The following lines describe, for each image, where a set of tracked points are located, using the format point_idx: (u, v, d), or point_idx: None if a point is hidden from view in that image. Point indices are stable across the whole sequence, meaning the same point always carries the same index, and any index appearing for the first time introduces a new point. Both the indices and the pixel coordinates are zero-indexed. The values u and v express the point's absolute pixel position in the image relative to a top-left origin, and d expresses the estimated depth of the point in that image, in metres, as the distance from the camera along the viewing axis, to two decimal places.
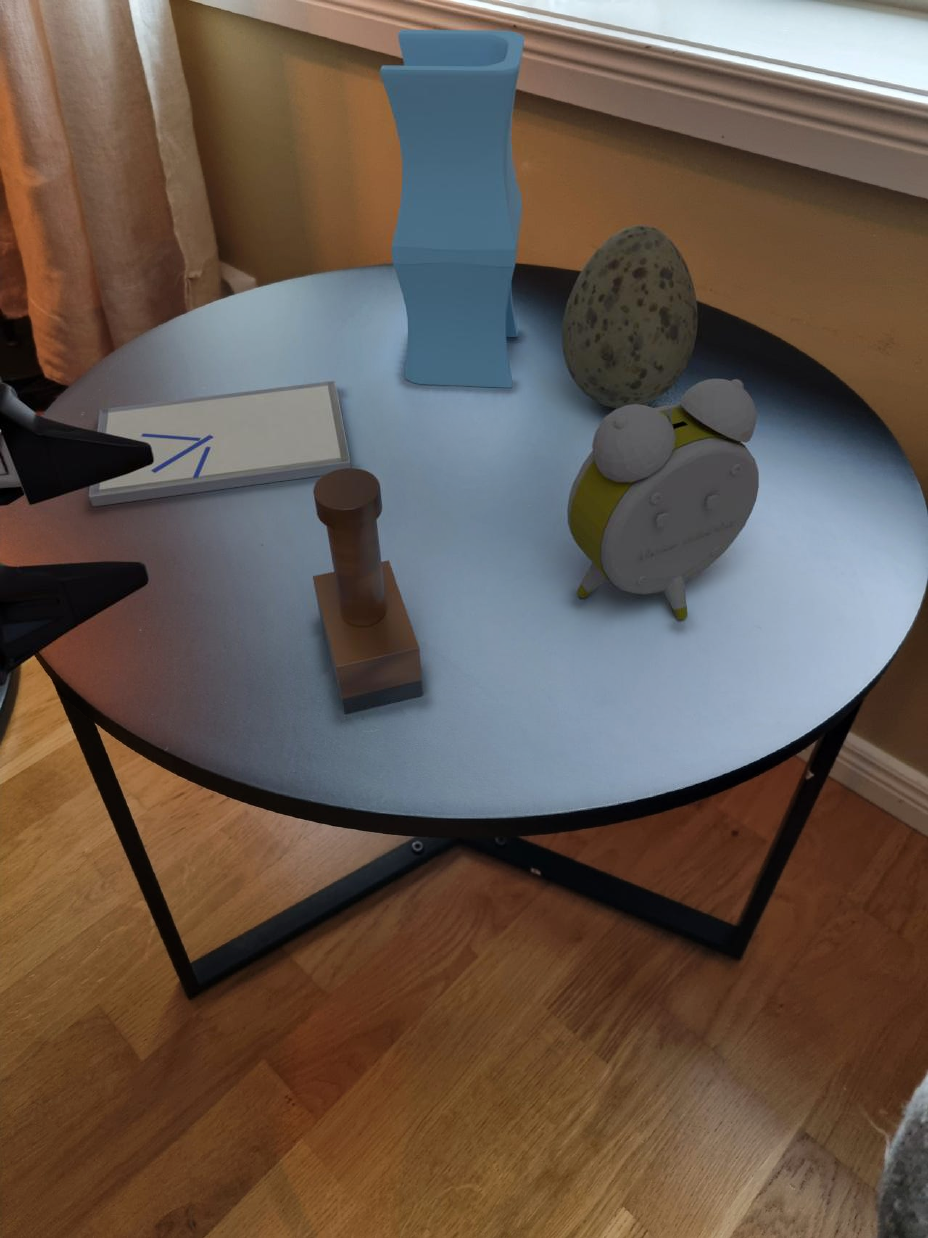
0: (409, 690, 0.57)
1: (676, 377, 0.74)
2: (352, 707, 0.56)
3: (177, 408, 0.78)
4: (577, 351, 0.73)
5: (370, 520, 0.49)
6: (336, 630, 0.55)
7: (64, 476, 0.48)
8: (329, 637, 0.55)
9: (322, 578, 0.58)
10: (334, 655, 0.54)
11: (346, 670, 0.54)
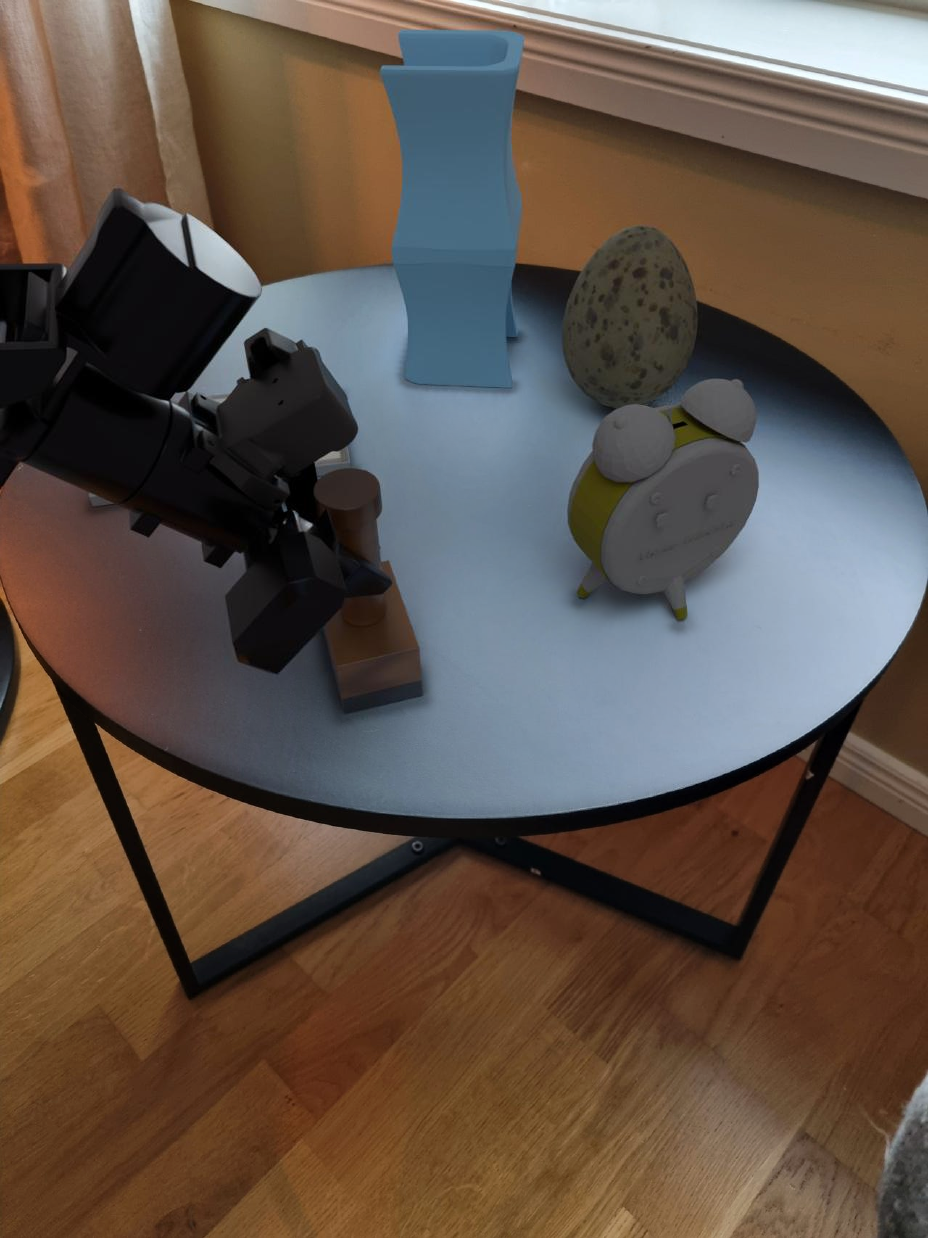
0: (409, 690, 0.57)
1: (676, 377, 0.74)
2: (352, 707, 0.56)
3: None
4: (577, 351, 0.73)
5: (370, 520, 0.49)
6: (336, 630, 0.55)
7: None
8: (329, 637, 0.55)
9: None
10: (334, 655, 0.54)
11: (345, 670, 0.54)
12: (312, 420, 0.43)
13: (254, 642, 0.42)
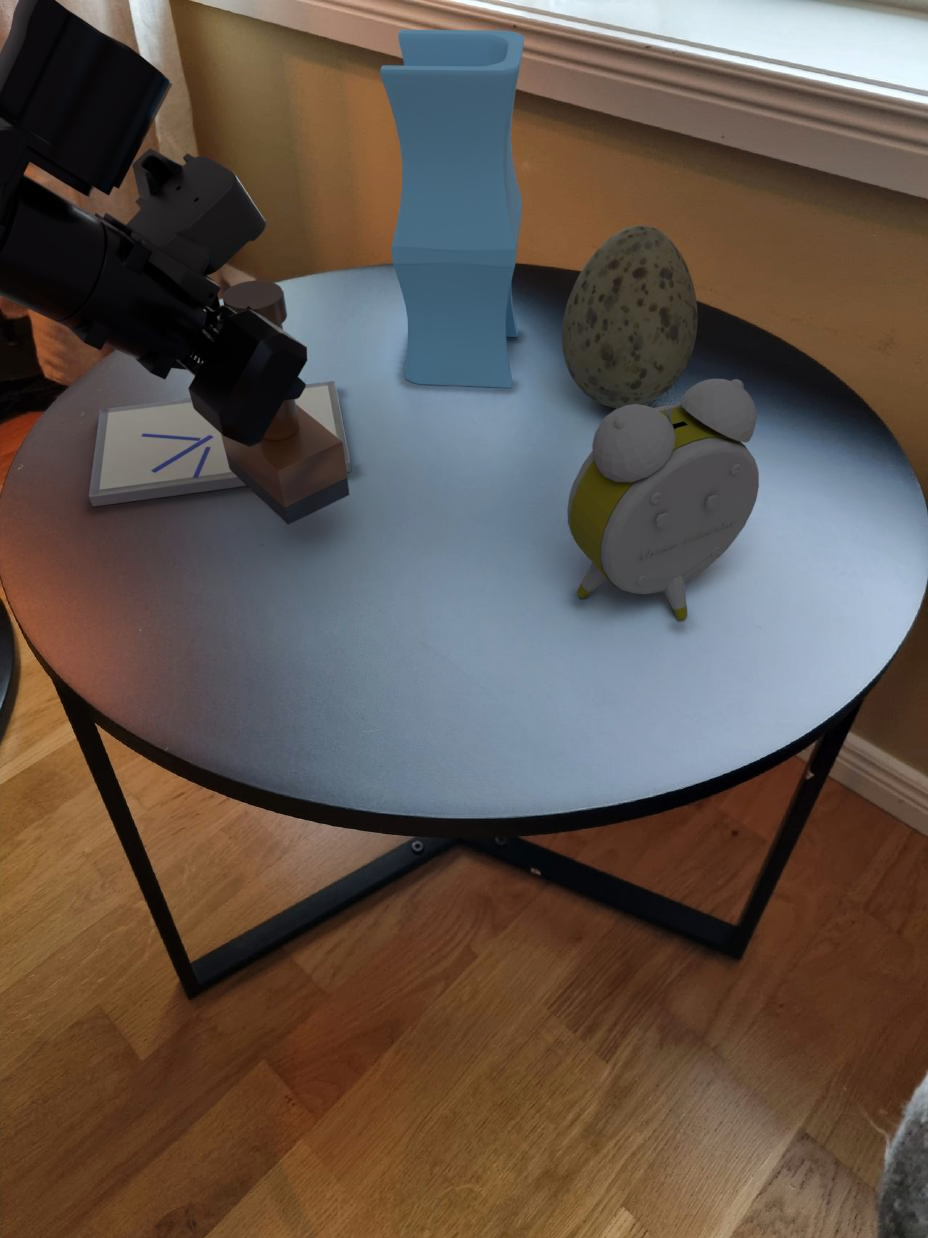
0: (338, 490, 0.63)
1: (676, 377, 0.74)
2: (294, 515, 0.61)
3: (177, 408, 0.78)
4: (577, 351, 0.73)
5: (282, 318, 0.55)
6: (262, 447, 0.60)
7: None
8: (258, 453, 0.60)
9: None
10: (271, 464, 0.59)
11: (285, 473, 0.59)
12: (231, 208, 0.48)
13: (239, 407, 0.47)
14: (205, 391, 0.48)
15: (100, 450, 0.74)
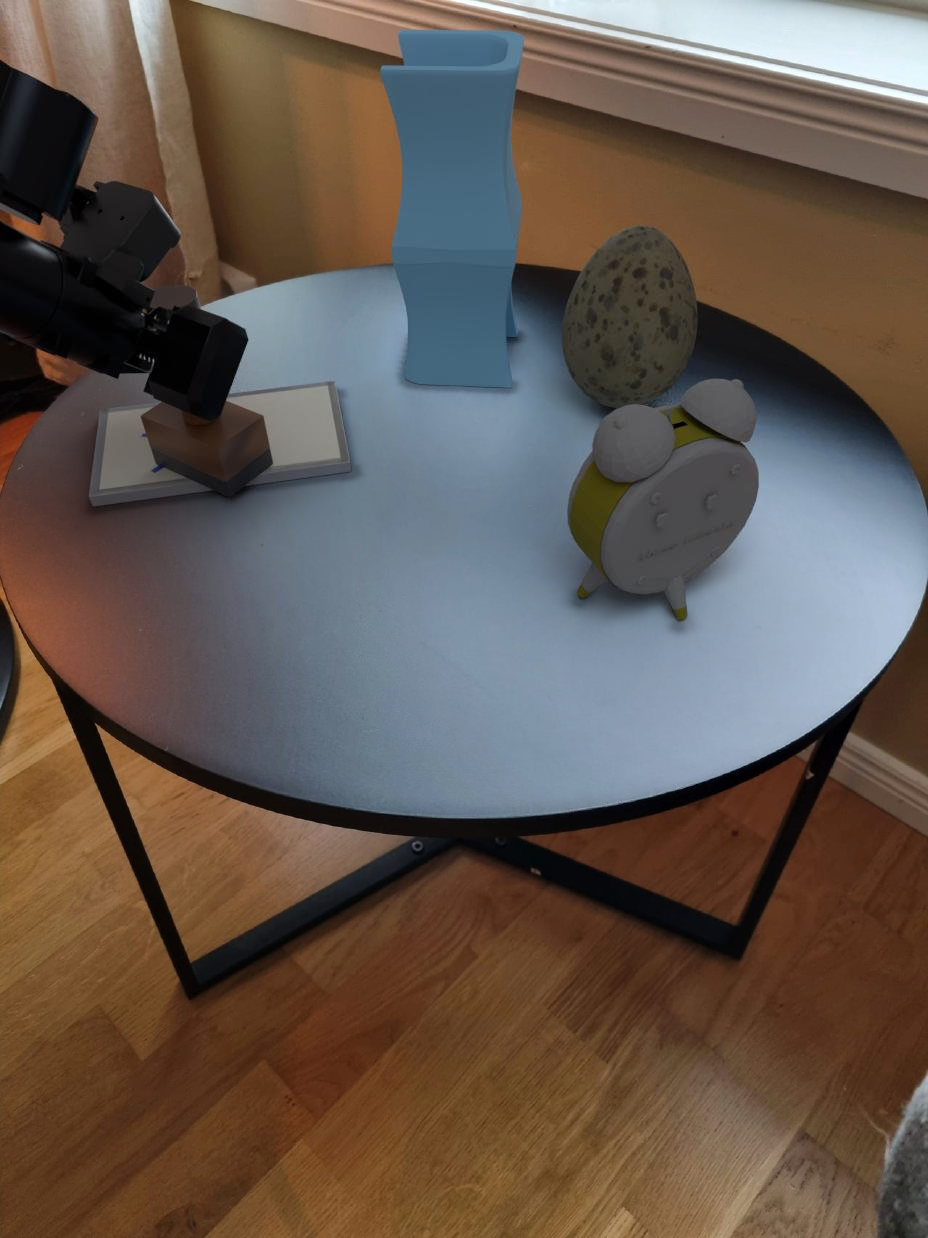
0: (264, 460, 0.71)
1: (676, 377, 0.74)
2: (233, 488, 0.70)
3: None
4: (577, 351, 0.73)
5: None
6: (194, 432, 0.68)
7: None
8: (193, 438, 0.67)
9: (149, 413, 0.70)
10: (208, 444, 0.67)
11: (223, 450, 0.67)
12: (154, 221, 0.56)
13: (203, 386, 0.56)
14: (167, 379, 0.56)
15: (100, 450, 0.74)
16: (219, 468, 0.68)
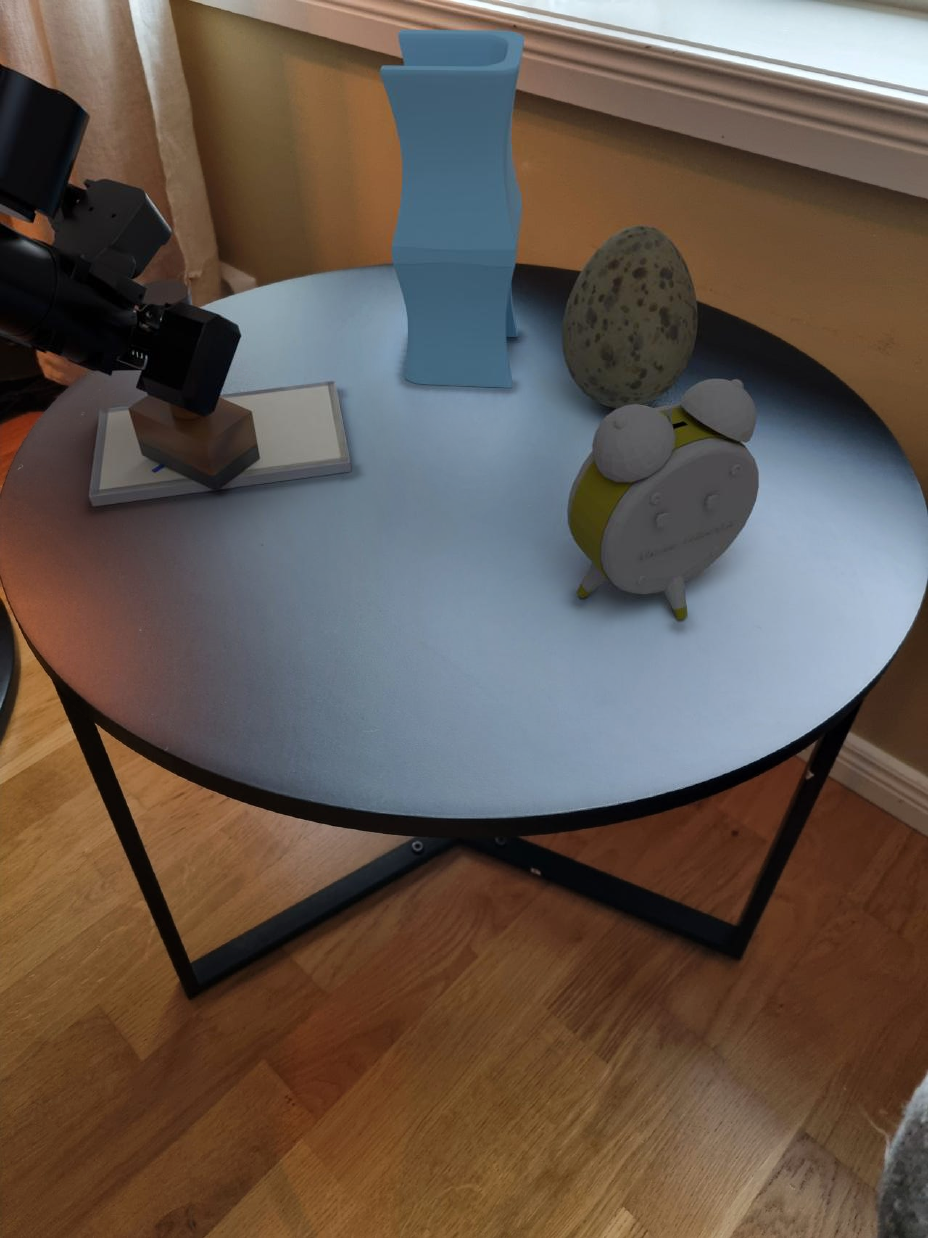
0: (251, 455, 0.72)
1: (676, 377, 0.74)
2: (220, 482, 0.70)
3: None
4: (577, 351, 0.73)
5: None
6: (183, 427, 0.68)
7: None
8: (182, 432, 0.68)
9: (137, 405, 0.70)
10: (197, 439, 0.67)
11: (212, 445, 0.67)
12: (146, 218, 0.57)
13: (197, 382, 0.56)
14: (161, 375, 0.57)
15: (100, 450, 0.74)
16: (207, 463, 0.68)
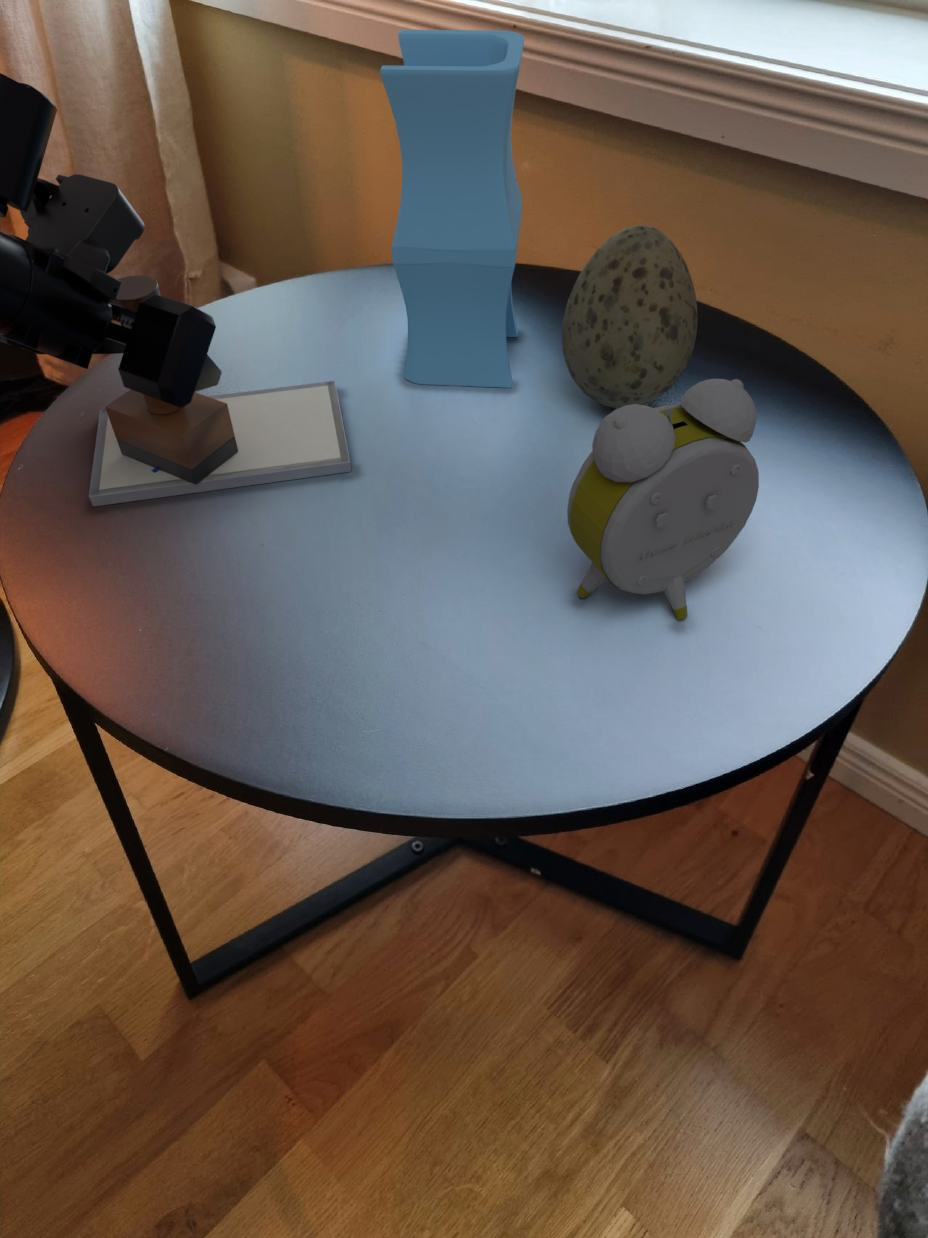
0: (229, 448, 0.73)
1: (676, 377, 0.74)
2: (199, 475, 0.71)
3: None
4: (577, 351, 0.73)
5: None
6: (159, 421, 0.69)
7: None
8: (158, 427, 0.68)
9: (114, 404, 0.71)
10: (173, 432, 0.68)
11: (188, 438, 0.68)
12: (119, 213, 0.57)
13: (173, 373, 0.57)
14: (137, 367, 0.57)
15: (100, 450, 0.74)
16: (184, 456, 0.69)
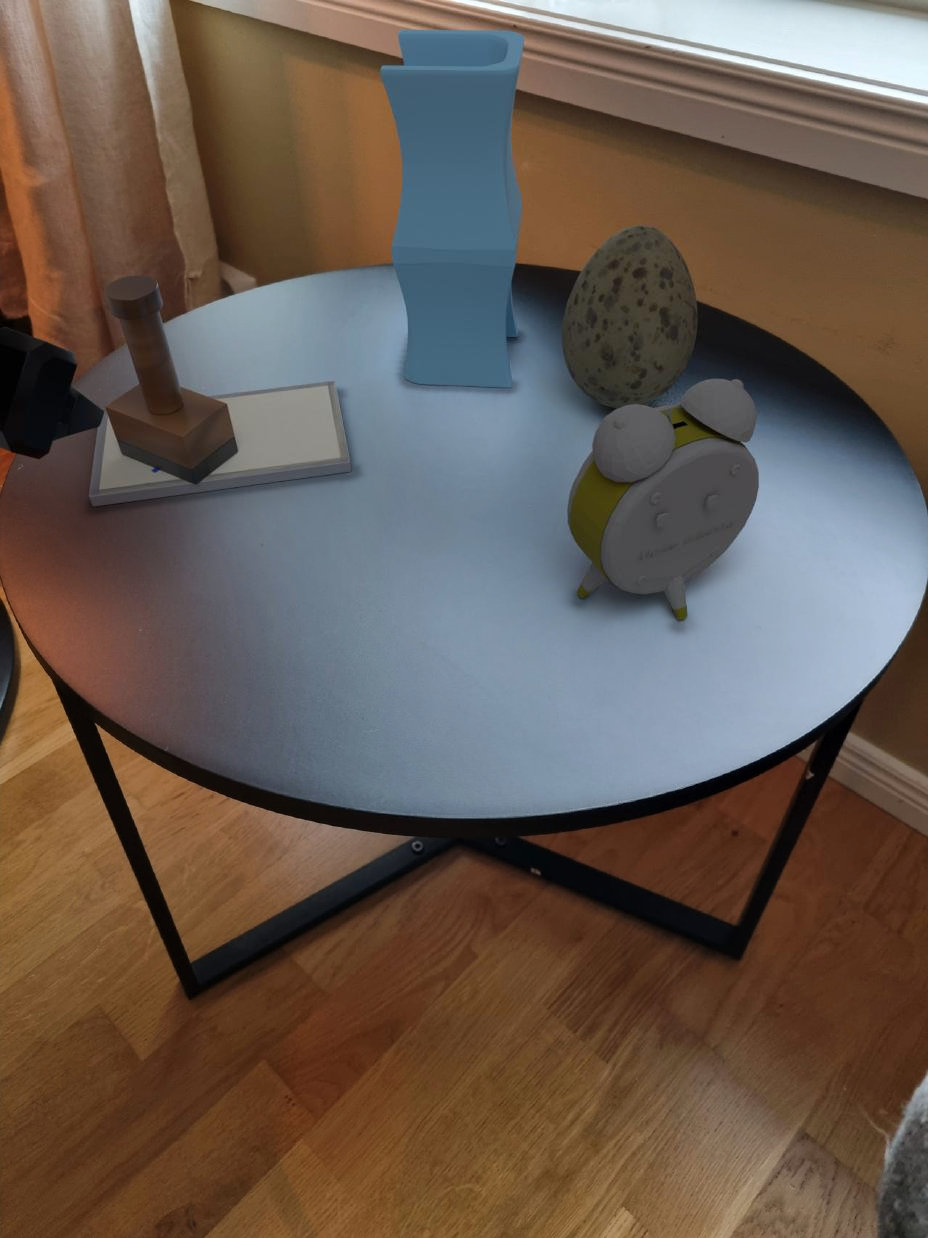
0: (229, 448, 0.73)
1: (676, 377, 0.74)
2: (199, 475, 0.71)
3: None
4: (577, 351, 0.73)
5: (161, 303, 0.64)
6: (159, 421, 0.69)
7: None
8: (158, 427, 0.68)
9: (114, 404, 0.71)
10: (173, 432, 0.68)
11: (188, 438, 0.68)
12: None
13: (22, 420, 0.48)
14: None
15: (100, 450, 0.74)
16: (184, 456, 0.69)
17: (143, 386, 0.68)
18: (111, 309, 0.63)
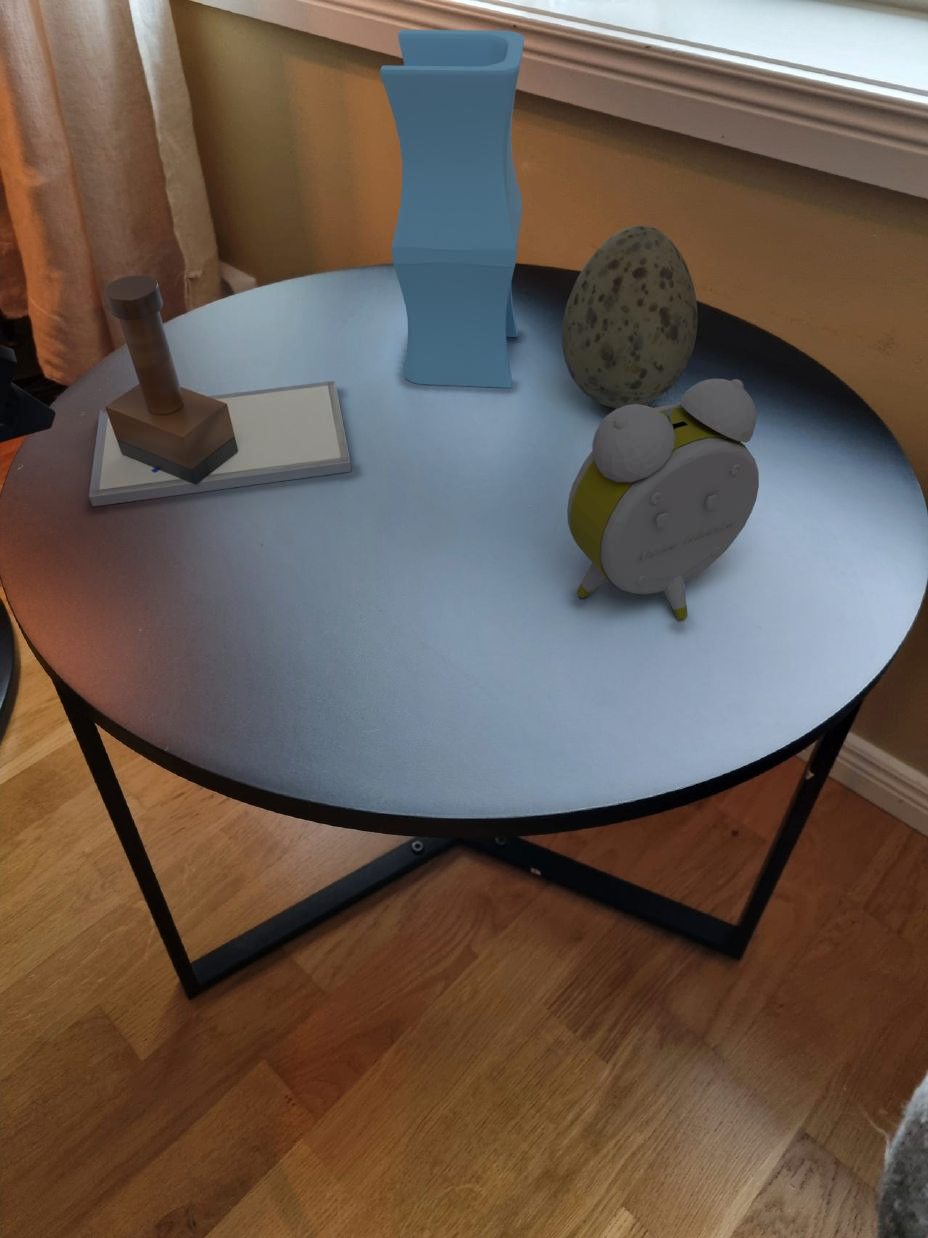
0: (229, 448, 0.73)
1: (676, 377, 0.74)
2: (199, 475, 0.71)
3: None
4: (577, 351, 0.73)
5: (161, 303, 0.64)
6: (159, 421, 0.69)
7: None
8: (158, 427, 0.68)
9: (114, 404, 0.71)
10: (173, 432, 0.68)
11: (188, 438, 0.68)
12: None
13: None
14: None
15: (100, 450, 0.74)
16: (184, 456, 0.69)
17: (143, 386, 0.68)
18: (111, 309, 0.63)
